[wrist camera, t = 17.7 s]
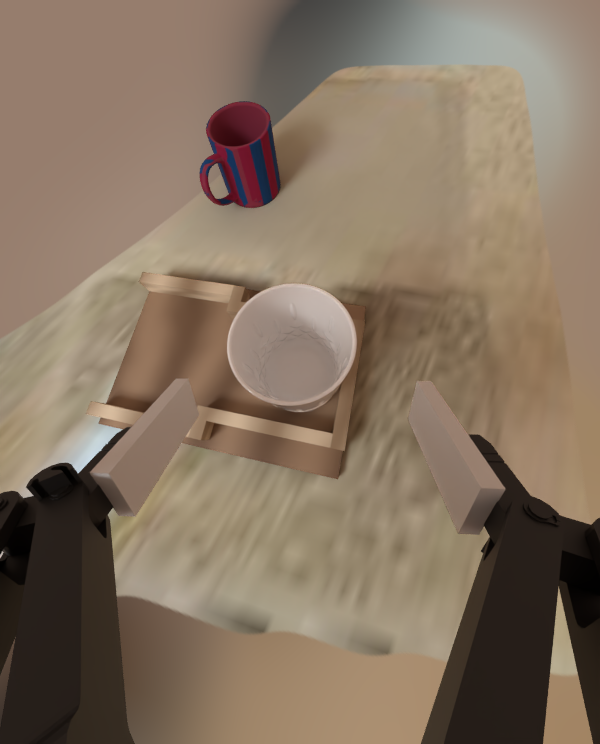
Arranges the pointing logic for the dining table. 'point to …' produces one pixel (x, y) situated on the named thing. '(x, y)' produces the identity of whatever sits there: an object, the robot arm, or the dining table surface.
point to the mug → (242, 155)
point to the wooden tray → (221, 380)
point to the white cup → (292, 346)
